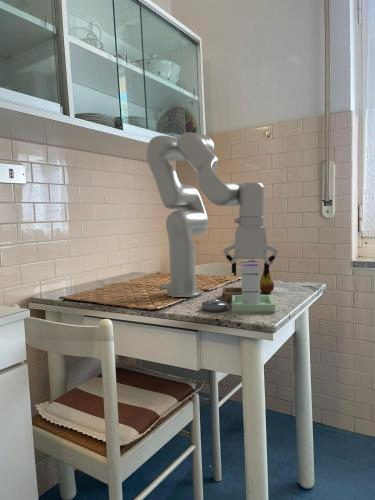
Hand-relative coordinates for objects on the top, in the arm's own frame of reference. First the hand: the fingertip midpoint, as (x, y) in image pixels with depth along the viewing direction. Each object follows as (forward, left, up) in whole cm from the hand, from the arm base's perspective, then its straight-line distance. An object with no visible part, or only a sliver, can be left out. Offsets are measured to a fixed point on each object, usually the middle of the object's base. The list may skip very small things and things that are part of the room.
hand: (250, 275), depth 121 cm
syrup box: (0, 0, -10) cm, 10 cm away
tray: (+1, 0, -10) cm, 10 cm away
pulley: (-11, -3, -10) cm, 16 cm away
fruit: (+7, +22, -11) cm, 25 cm away
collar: (-4, +12, -10) cm, 16 cm away
